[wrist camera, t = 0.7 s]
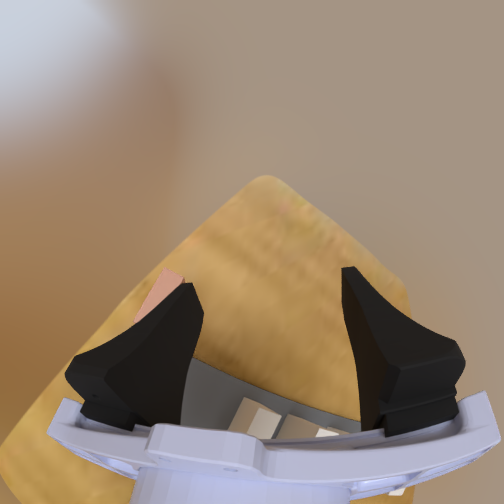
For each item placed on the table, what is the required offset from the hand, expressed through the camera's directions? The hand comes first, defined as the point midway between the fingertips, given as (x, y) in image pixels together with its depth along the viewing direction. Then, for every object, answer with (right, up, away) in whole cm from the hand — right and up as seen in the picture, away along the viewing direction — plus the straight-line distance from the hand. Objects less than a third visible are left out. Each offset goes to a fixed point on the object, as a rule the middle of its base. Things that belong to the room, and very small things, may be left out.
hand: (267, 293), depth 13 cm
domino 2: (-2, -15, +11) cm, 19 cm away
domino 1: (-9, -5, +15) cm, 18 cm away
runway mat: (+3, -17, +11) cm, 21 cm away
